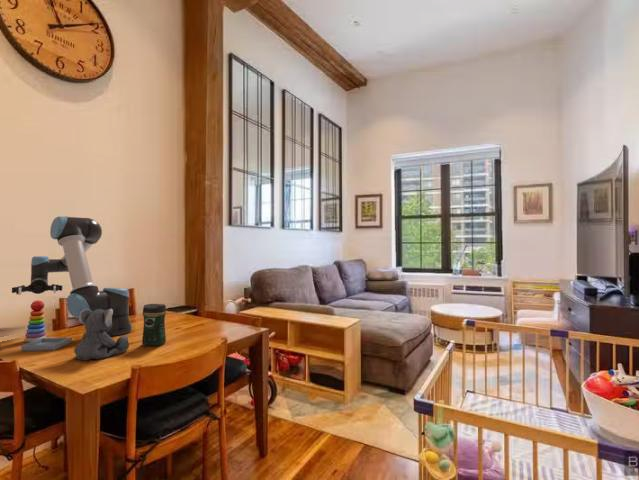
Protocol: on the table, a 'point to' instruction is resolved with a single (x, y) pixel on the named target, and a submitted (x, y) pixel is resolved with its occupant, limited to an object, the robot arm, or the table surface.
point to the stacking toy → (36, 322)
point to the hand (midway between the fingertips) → (37, 291)
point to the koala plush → (98, 336)
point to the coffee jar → (154, 324)
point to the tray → (46, 344)
